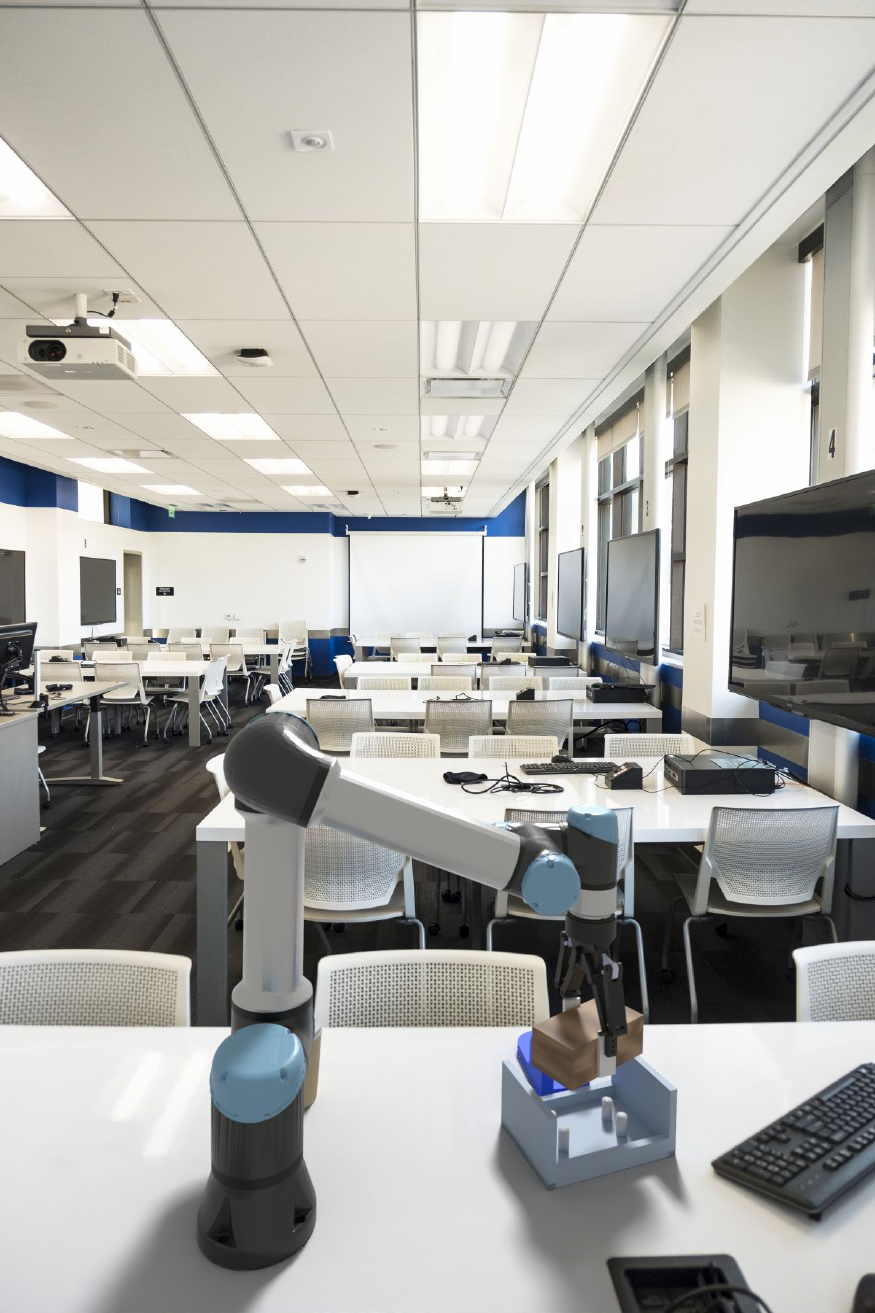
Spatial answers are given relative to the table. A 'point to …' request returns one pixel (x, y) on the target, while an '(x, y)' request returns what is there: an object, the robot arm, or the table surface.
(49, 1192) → the table surface
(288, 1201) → the robot arm
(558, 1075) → the brown wooden block
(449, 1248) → the table surface
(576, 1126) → the frame
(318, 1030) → the coffee cup
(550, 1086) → the bracket
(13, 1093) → the table surface
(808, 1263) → the table surface
